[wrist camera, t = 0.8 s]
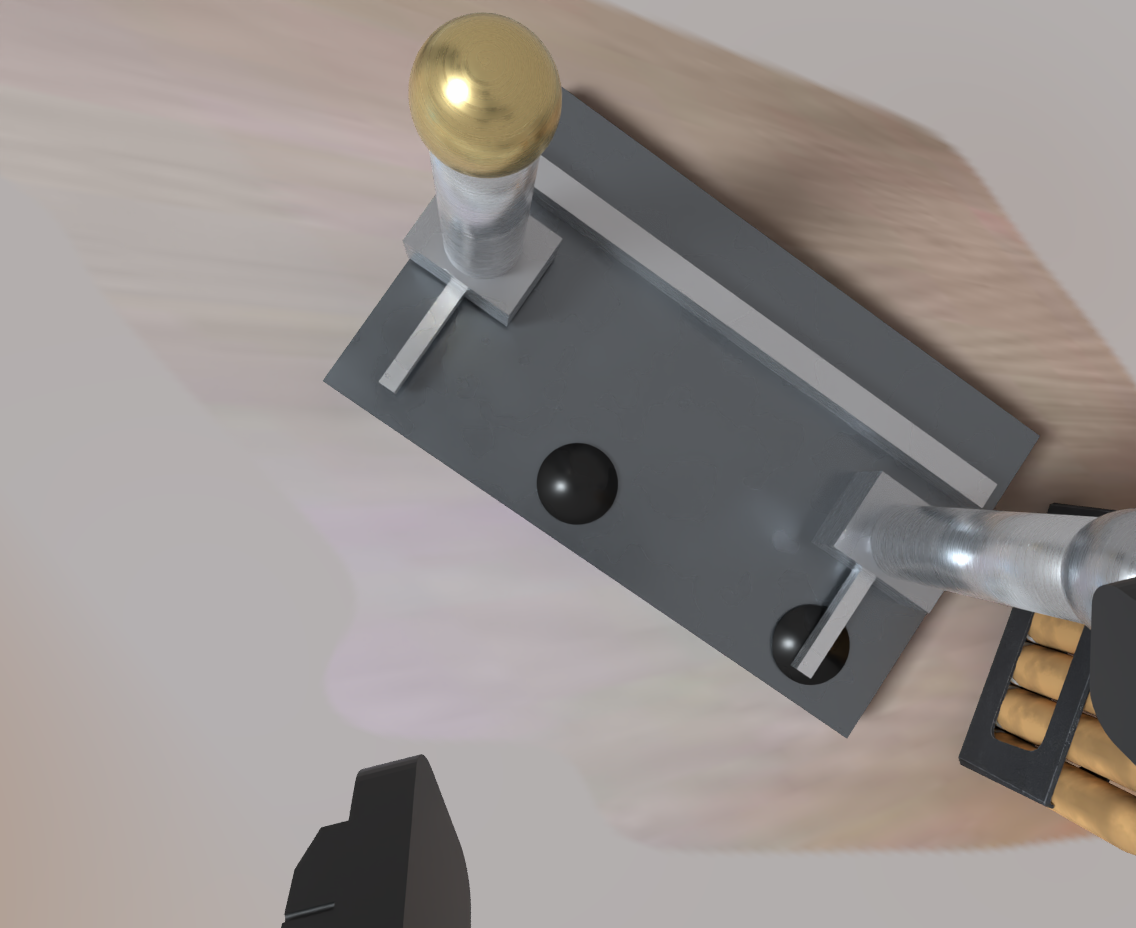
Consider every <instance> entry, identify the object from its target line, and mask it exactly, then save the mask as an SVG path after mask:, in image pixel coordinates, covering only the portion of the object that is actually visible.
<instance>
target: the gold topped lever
mask: <svg viewBox="0 0 1136 928" xmlns="http://www.w3.org/2000/svg"><path fill="white" fill-rule="evenodd" d="M409 106H410V111H411V115H412V119H413V122H414V125H415V127H416V130H417V132H418V134H419V136H420V137H421V139H422V141H423V142H424V144H425V145H426V146H427V148H428V149H429V152H430V159H431V165H432V172H433V178H434V185H435V191H436V195H435V196H434V198H433V199H432V201H431V202H430V203H429V205H428V206H427V208H426V209H425V210H424V212H423V213H422V215H421V216H420V217H419V219H418V220H417V222H416V223H415V224H414V226H413V227H412V229H411V230H410V231H409V233H408V234H407V236H406V237H405V238H404V240H403V244H404V247H405V250H406V253H407V256H408V258H410V259H411V260H413V261H414V262H415V263H417V264H418V265H420V266H421V267H423V268H424V269H425V270H427V271H428V272H430V273H431V274H433V275H434V276H435V277H437V278H438V279H440V280H441V281H443V282H444V283H445V284H447V286H446V287H445V288H444V290H443V291H442V293H441V294H440V295H439V297H438V298H437V300H436V301H435V303H434V304H433V305H432V307H431V308H430V310H429V311H428V312H427V314H426V315H425V317H424V318H423V320H422V321H421V322H420V324H419V325H418V327H417V328H416V329H415V331H414V332H413V334H412V335H411V336H410V338H409V339H408V341H407V342H406V344H405V345H404V346H403V348H402V349H401V351H400V352H399V353H398V355H397V356H396V358H395V359H394V360H393V362H392V363H391V365H390V366H389V368H388V369H387V370H386V372H385V373H384V375H383V376H382V377H381V379H380V380H379V383H380V384H382V385H383V386H385V387H386V388H387V389H389V390H390V391H392V392H393V393H395V394H396V393H397V392H398V390H399V389H400V387H401V386H402V385H403V383H404V382H405V380H406V379H407V378H408V376H409V375H410V373H411V372H412V370H413V369H414V368H415V366H416V365H417V363H418V362H419V361H420V359H421V358H422V356H423V355H424V353H425V352H426V351H427V349H428V348H429V346H430V345H431V343H432V342H433V341H434V339H435V338H436V336H437V335H438V334H439V332H440V331H441V329H442V328H443V326H444V325H445V324H446V322H447V321H448V319H449V318H450V317H451V315H452V314H453V312H454V311H455V309H456V308H457V307H458V305H459V304H460V302H461V301H462V300H463V298H464V297H465V298H467V299H468V300H470V301H471V302H473V303H474V304H475V305H477V306H478V307H480V308H481V309H483V310H484V311H485V312H487V313H488V314H490V315H491V316H493V317H494V318H495V319H497V320H498V321H500V322H501V323H503V324H504V325H505V326H508V324H509V323H510V321H511V320H512V319H513V317H514V316H515V314H516V313H517V311H518V310H519V309H520V307H521V306H522V304H523V303H524V301H525V300H526V299H527V297H528V296H529V294H530V293H531V291H532V290H533V288H534V287H535V286H536V284H537V283H538V281H539V280H540V278H541V277H542V276H543V274H544V273H545V271H546V270H547V268H548V267H549V266H550V264H551V263H552V261H553V260H554V258H555V257H556V256H557V253H558V251H559V248H560V245H561V242H562V238H561V237H560V236H558V235H557V234H555V233H554V232H553V231H551V230H550V229H548V228H547V227H546V226H544V225H543V224H541V223H540V222H539V221H537V220H536V219H534V218H533V217H532V216H530V215H529V212H530V206H531V201H532V196H533V190H534V185H535V180H536V175H537V169H538V164H539V159H540V155H541V154H542V153H543V152H544V151H545V149H546V148H547V147H548V145H549V144H550V142H551V140H552V139H553V136H554V134H555V132H556V129H557V127H558V123H559V120H560V115H561V108H562V89H561V82H560V78H559V74H558V70H557V68H556V65H555V62H554V60H553V58H552V56H551V55H550V53H549V51H548V50H547V48H546V47H545V45H544V44H543V43H542V41H541V40H540V39H539V38H538V37H537V36H536V35H535V34H534V33H533V32H532V31H531V30H529V29H528V28H527V27H525V26H524V25H522V24H521V23H519V22H517V21H515V20H513V19H511V18H508V17H505V16H502V15H499V14H493V13H472V14H467V15H463V16H460V17H457V18H454V19H452V20H450V21H448V22H446V23H445V24H443V25H442V26H441V27H439V28H438V29H437V30H436V31H434V32H433V33H432V34H431V35H430V37H429V38H428V39H427V40H426V41H425V43H424V44H423V46H422V47H421V49H420V50H419V52H418V54H417V56H416V58H415V61H414V64H413V67H412V70H411V74H410V80H409Z"/></svg>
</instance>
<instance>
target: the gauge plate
mask: <svg viewBox="0 0 1136 928" xmlns="http://www.w3.org/2000/svg"><path fill="white" fill-rule="evenodd" d="M561 89H562V108H561V115H560V120H559V123H558V127H557V129H556V132H555V134H554V136H553V139H552V140H551V142H550V144H549V145H548V147H547V148H546V149H545V151H544V152H543V153H542V154H541V155H540V159H539V164H538V169H537V175H536V180H535V185H534V190H533V196H532V201H531V206H530V212H529V215H530V216H532V217H533V218H534V219H536V220H537V221H539V222H540V223H541V224H543V225H544V226H546V227H547V228H548V229H550V230H551V231H553V232H554V233H555V234H557V235H558V236H560V237H561V238H562V242H561V245H560V248H559V251H558V253H557V256H556V257H555V258H554V260H553V261H552V263H551V264H550V266H549V267H548V268H547V270H546V271H545V273H544V274H543V276H542V277H541V278H540V280H539V281H538V283H537V284H536V286H535V287H534V288H533V290H532V291H531V293H530V294H529V296H528V297H527V299H526V300H525V301H524V303H523V304H522V306H521V307H520V309H519V310H518V311H517V313H516V314H515V316H514V317H513V319H512V320H511V321H510V323H509V324H508V326H505V325H504V324H503V323H501V322H500V321H498V320H497V319H495V318H494V317H493V316H491V315H490V314H488V313H487V312H485V311H484V310H483V309H481V308H480V307H478V306H477V305H475V304H474V303H473V302H471V301H470V300H468V299H467V298H465V297H464V298H463V300H462V301H461V302H460V304H459V305H458V307H457V308H456V309H455V311H454V312H453V314H452V315H451V317H450V318H449V319H448V321H447V322H446V324H445V325H444V326H443V328H442V329H441V331H440V332H439V334H438V335H437V336H436V338H435V339H434V341H433V342H432V343H431V345H430V346H429V348H428V349H427V351H426V352H425V353H424V355H423V356H422V358H421V359H420V361H419V362H418V363H417V365H416V366H415V368H414V369H413V370H412V372H411V373H410V375H409V376H408V378H407V379H406V380H405V382H404V383H403V385H402V386H401V387H400V389H399V390H398V392H397V393H396V394H395V393H393V392H392V391H390V390H389V389H387V388H386V387H385V386H383V385H382V384H380V383H379V380H380V379H381V377H382V376H383V375H384V373H385V372H386V370H387V369H388V368H389V366H390V365H391V363H392V362H393V360H394V359H395V358H396V356H397V355H398V353H399V352H400V351H401V349H402V348H403V346H404V345H405V344H406V342H407V341H408V339H409V338H410V336H411V335H412V334H413V332H414V331H415V329H416V328H417V327H418V325H419V324H420V322H421V321H422V320H423V318H424V317H425V315H426V314H427V312H428V311H429V310H430V308H431V307H432V305H433V304H434V303H435V301H436V300H437V298H438V297H439V295H440V294H441V293H442V291H443V290H444V288H445V287H446V286H447V284H445V283H444V282H443V281H441V280H440V279H438V278H437V277H435V276H434V275H433V274H431V273H430V272H428V271H427V270H425V269H424V268H423V267H421V266H420V265H418V264H417V263H415V262H414V261H413V260H411V259H409V261H408V262H407V263H406V265H405V266H404V268H403V269H402V270H401V272H400V273H399V275H398V276H397V278H396V279H395V280H394V282H393V283H392V285H391V286H390V287H389V289H388V290H387V292H386V293H385V294H384V296H383V297H382V299H381V300H380V301H379V303H378V304H377V306H376V307H375V308H374V310H373V311H372V313H371V314H370V315H369V317H368V318H367V320H366V321H365V322H364V324H363V325H362V327H361V328H360V329H359V331H358V332H357V334H356V335H355V336H354V338H353V339H352V341H351V342H350V343H349V345H348V346H347V348H346V349H345V350H344V352H343V353H342V355H341V356H340V357H339V359H338V360H337V362H336V363H335V364H334V366H333V367H332V369H331V370H330V371H329V373H328V374H327V376H326V377H325V378H324V380H323V381H324V382H325V383H326V384H328V385H329V386H331V387H332V388H334V389H335V390H337V391H338V392H340V393H341V394H343V395H344V396H346V397H347V398H348V399H350V400H351V401H353V402H354V403H356V404H357V405H359V406H360V407H362V408H363V409H365V410H366V411H368V412H369V413H370V414H372V415H373V416H375V417H376V418H378V419H379V420H381V421H382V422H384V423H385V424H387V425H388V426H390V427H391V428H392V429H394V430H395V431H397V432H398V433H400V434H401V435H403V436H404V437H406V438H407V439H409V440H410V441H412V442H413V443H414V444H416V445H417V446H419V447H420V448H422V449H423V450H425V451H426V452H428V453H429V454H431V455H432V456H434V457H435V458H436V459H438V460H439V461H441V462H442V463H444V464H445V465H447V466H448V467H450V468H451V469H453V470H454V471H456V472H457V473H458V474H460V475H461V476H463V477H464V478H466V479H467V480H469V481H470V482H472V483H473V484H475V485H476V486H477V487H479V488H480V489H482V490H483V491H485V492H486V493H488V494H489V495H491V496H492V497H494V498H495V499H497V500H498V501H499V502H501V503H502V504H504V505H505V506H507V507H508V508H510V509H511V510H513V511H514V512H516V513H517V514H519V515H520V516H521V517H523V518H524V519H526V520H527V521H529V522H530V523H532V524H533V525H535V526H536V527H538V528H539V529H541V530H542V531H543V532H545V533H546V534H548V535H549V536H551V537H552V538H554V539H555V540H557V541H558V542H560V543H561V544H563V545H564V546H565V547H567V548H568V549H570V550H571V551H573V552H574V553H576V554H577V555H579V556H580V557H582V558H583V559H585V560H586V561H587V562H589V563H590V564H592V565H593V566H595V567H596V568H598V569H599V570H601V571H602V572H604V573H605V574H607V575H608V576H609V577H611V578H612V579H614V580H615V581H617V582H618V583H620V584H621V585H623V586H624V587H626V588H627V589H629V590H630V591H631V592H633V593H634V594H636V595H637V596H639V597H640V598H642V599H643V600H645V601H646V602H648V603H649V604H650V605H652V606H653V607H655V608H656V609H658V610H659V611H661V612H662V613H664V614H665V615H667V616H668V617H670V618H671V619H672V620H674V621H675V622H677V623H678V624H680V625H681V626H683V627H684V628H686V629H687V630H689V631H690V632H692V633H693V634H694V635H696V636H697V637H699V638H700V639H702V640H703V641H705V642H706V643H708V644H709V645H711V646H712V647H714V648H715V649H716V650H718V651H719V652H721V653H722V654H724V655H725V656H727V657H728V658H730V659H731V660H733V661H734V662H736V663H737V664H738V665H740V666H741V667H743V668H744V669H746V670H747V671H749V672H750V673H752V674H753V675H755V676H756V677H758V678H759V679H760V680H762V681H763V682H765V683H766V684H768V685H769V686H771V687H772V688H774V689H775V690H777V691H778V692H780V693H781V694H782V695H784V696H785V697H787V698H788V699H790V700H791V701H793V702H794V703H796V704H797V705H799V706H800V707H802V708H803V709H804V710H806V711H807V712H809V713H810V714H812V715H813V716H815V717H816V718H818V719H819V720H821V721H822V722H824V723H825V724H826V725H828V726H829V727H831V728H832V729H834V730H835V731H837V732H838V733H840V734H841V735H843V736H844V737H845V738H848V736H849V735H850V733H851V731H852V730H853V728H854V727H855V725H856V724H857V722H858V720H859V719H860V717H861V716H862V714H863V713H864V711H865V709H866V708H867V706H868V705H869V703H870V702H871V700H872V699H873V697H874V695H875V694H876V692H877V691H878V689H879V688H880V686H881V684H882V683H883V681H884V680H885V678H886V677H887V675H888V673H889V672H890V670H891V669H892V667H893V666H894V664H895V662H896V661H897V659H898V658H899V656H900V655H901V653H902V652H903V650H904V648H905V647H906V645H907V644H908V642H909V641H910V639H911V637H912V636H913V634H914V633H915V631H916V630H917V628H918V626H919V625H920V623H921V622H922V620H923V619H924V617H925V615H926V614H927V612H923V611H920V610H917V609H913V608H910V607H907V606H903V605H900V604H899V603H897V602H896V601H895V600H893V599H892V598H890V597H889V596H887V595H886V594H885V593H883V592H882V591H880V590H879V589H877V588H876V587H875V586H873V585H871V586H870V588H869V589H868V591H867V593H866V594H865V596H864V597H863V599H862V600H861V602H860V603H859V605H858V607H857V608H856V610H855V611H854V613H853V614H852V616H851V617H850V619H849V620H848V622H847V624H846V625H845V627H844V628H843V630H842V631H841V633H840V634H839V636H838V637H837V639H836V641H835V642H834V644H833V645H832V647H831V648H830V650H829V651H828V653H827V655H826V656H825V658H824V659H823V661H822V662H821V664H820V665H819V667H818V668H817V670H816V672H815V673H814V675H813V676H812V678H809V677H807V676H806V675H804V674H803V673H801V672H800V671H798V670H797V669H795V668H794V667H792V666H791V664H792V662H793V661H794V659H795V658H796V656H797V655H798V653H799V651H800V650H801V648H802V647H803V645H804V644H805V642H806V641H807V639H808V638H809V636H810V634H811V633H812V631H813V630H814V628H815V627H816V625H817V624H818V622H819V621H820V619H821V618H822V616H823V614H824V613H825V611H826V610H827V608H828V607H829V605H830V604H831V602H832V601H833V599H834V597H835V596H836V594H837V593H838V591H839V590H840V588H841V587H842V585H843V584H844V582H845V580H846V579H847V577H848V576H849V574H850V573H851V571H852V570H850V569H849V568H847V567H846V566H845V565H843V564H842V563H840V562H839V561H837V560H836V559H835V558H833V557H832V556H830V555H829V554H827V553H826V552H825V551H823V550H822V549H820V548H819V547H818V546H816V545H815V544H813V543H812V542H811V540H812V539H813V537H814V536H815V534H816V533H817V531H818V530H819V528H820V527H821V525H822V524H823V522H824V521H825V519H826V518H827V516H828V514H829V513H830V511H831V510H832V508H833V507H834V505H835V504H836V502H837V501H838V499H839V498H840V496H841V495H842V493H843V492H844V490H845V488H846V487H847V485H848V484H849V482H850V481H851V479H852V478H853V476H854V475H855V473H856V472H866V471H883V472H884V473H886V474H887V475H888V476H890V477H891V478H893V479H894V480H896V481H897V482H898V483H900V484H901V485H903V486H904V487H905V488H907V489H908V490H910V491H911V492H912V493H914V494H915V495H917V496H918V497H919V498H921V499H922V500H924V501H925V502H926V503H928V504H929V505H931V506H933V507H949V508H964V509H980V510H993V509H994V507H995V506H996V504H997V503H998V501H999V500H1000V498H1001V496H1002V495H1003V493H1004V492H1005V490H1006V489H1007V487H1008V485H1009V484H1010V482H1011V481H1012V479H1013V478H1014V476H1015V475H1016V473H1017V471H1018V470H1019V468H1020V467H1021V465H1022V464H1023V462H1024V460H1025V459H1026V457H1027V456H1028V454H1029V453H1030V451H1031V449H1032V448H1033V446H1034V445H1035V443H1036V442H1037V440H1038V438H1039V437H1040V436H1039V435H1038V434H1036V433H1035V432H1034V431H1032V430H1031V429H1029V428H1028V427H1027V426H1025V425H1024V424H1023V423H1021V422H1020V421H1019V420H1017V419H1016V418H1014V417H1013V416H1012V415H1010V414H1009V413H1008V412H1006V411H1005V410H1003V409H1002V408H1001V407H999V406H998V405H997V404H995V403H994V402H993V401H991V400H990V399H988V398H987V397H986V396H984V395H983V394H982V393H980V392H979V391H977V390H976V389H975V388H973V387H972V386H971V385H969V384H968V383H966V382H965V381H964V380H962V379H961V378H960V377H958V376H957V375H956V374H954V373H953V372H951V371H950V370H949V369H947V368H946V367H945V366H943V365H942V364H940V363H939V362H938V361H936V360H935V359H934V358H932V357H931V356H930V355H928V354H927V353H925V352H924V351H923V350H921V349H920V348H919V347H917V346H916V345H914V344H913V343H912V342H910V341H909V340H908V339H906V338H905V337H904V336H902V335H901V334H899V333H898V332H897V331H895V330H894V329H893V328H891V327H890V326H888V325H887V324H886V323H884V322H883V321H882V320H880V319H879V318H877V317H876V316H875V315H873V314H872V313H871V312H869V311H868V310H867V309H865V308H864V307H862V306H861V305H860V304H858V303H857V302H856V301H854V300H853V299H851V298H850V297H849V296H847V295H846V294H845V293H843V292H842V291H841V290H839V289H838V288H836V287H835V286H834V285H832V284H831V283H830V282H828V281H827V280H825V279H824V278H823V277H821V276H820V275H819V274H817V273H816V272H815V271H813V270H812V269H810V268H809V267H808V266H806V265H805V264H804V263H802V262H801V261H799V260H798V259H797V258H795V257H794V256H793V255H791V254H790V253H788V252H787V251H786V250H784V249H783V248H782V247H780V246H779V245H778V244H776V243H775V242H773V241H772V240H771V239H769V238H768V237H767V236H765V235H764V234H762V233H761V232H760V231H758V230H757V229H756V228H754V227H753V226H752V225H750V224H749V223H747V222H746V221H745V220H743V219H742V218H741V217H739V216H738V215H736V214H735V213H734V212H732V211H731V210H730V209H728V208H727V207H725V206H724V205H723V204H721V203H720V202H719V201H717V200H716V199H715V198H713V197H712V196H710V195H709V194H708V193H706V192H705V191H704V190H702V189H701V188H699V187H698V186H697V185H695V184H694V183H693V182H691V181H690V180H689V179H687V178H686V177H684V176H683V175H682V174H680V173H679V172H678V171H676V170H675V169H673V168H672V167H671V166H669V165H668V164H667V163H665V162H664V161H663V160H661V159H660V158H658V157H657V156H656V155H654V154H653V153H652V152H650V151H649V150H647V149H646V148H645V147H643V146H642V145H641V144H639V143H638V142H636V141H635V140H634V139H632V138H631V137H630V136H628V135H627V134H626V133H624V132H623V131H621V130H620V129H619V128H617V127H616V126H615V125H613V124H612V123H610V122H609V121H608V120H606V119H605V118H604V117H602V116H601V115H600V114H598V113H597V112H595V111H594V110H593V109H591V108H590V107H589V106H587V105H586V104H584V103H583V102H582V101H580V100H579V99H578V98H576V97H575V96H574V95H572V94H571V93H569V92H568V91H567V90H565V89H564V88H563V87H561Z"/></svg>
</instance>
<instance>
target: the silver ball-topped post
mask: <svg viewBox="0 0 1136 928" xmlns="http://www.w3.org/2000/svg"><path fill="white" fill-rule="evenodd" d="M811 542H812V543H813V544H815V545H816V546H818V547H819V548H820V549H822V550H823V551H825V552H826V553H827V554H829V555H830V556H832V557H833V558H835V559H836V560H837V561H839V562H840V563H842V564H843V565H845V566H846V567H847V568H849V569H850V570H852V571H851V573H850V574H849V576H848V577H847V579H846V580H845V582H844V584H843V585H842V587H841V588H840V590H839V591H838V593H837V594H836V596H835V597H834V599H833V601H832V602H831V604H830V605H829V607H828V608H827V610H826V611H825V613H824V614H823V616H822V618H821V619H820V621H819V622H818V624H817V625H816V627H815V628H814V630H813V631H812V633H811V634H810V636H809V638H808V639H807V641H806V642H805V644H804V645H803V647H802V648H801V650H800V651H799V653H798V655H797V656H796V658H795V659H794V661H793V662H792V664H791V666H792V667H794V668H795V669H797V670H798V671H800V672H801V673H803V674H804V675H806V676H807V677H809V678H812V676H813V675H814V673H815V672H816V670H817V668H818V667H819V665H820V664H821V662H822V661H823V659H824V658H825V656H826V655H827V653H828V651H829V650H830V648H831V647H832V645H833V644H834V642H835V641H836V639H837V637H838V636H839V634H840V633H841V631H842V630H843V628H844V627H845V625H846V624H847V622H848V620H849V619H850V617H851V616H852V614H853V613H854V611H855V610H856V608H857V607H858V605H859V603H860V602H861V600H862V599H863V597H864V596H865V594H866V593H867V591H868V589H869V588H870V586H871V585H873V586H875V587H876V588H877V589H879V590H880V591H882V592H883V593H885V594H886V595H887V596H889V597H890V598H892V599H893V600H895V601H896V602H897V603H899V604H900V605H903V606H907V607H910V608H913V609H917V610H920V611H923V612H927V613H930V612H931V610H932V608H933V607H934V605H935V604H936V602H937V601H938V599H939V597H940V596H941V594H942V593H943V591H944V590H945V591H949V592H953V593H957V594H961V595H966V596H970V597H974V598H978V599H982V600H986V601H990V602H994V603H999V604H1003V605H1007V606H1011V607H1015V608H1019V609H1023V610H1027V611H1031V612H1036V613H1040V614H1044V615H1048V616H1052V617H1056V618H1060V619H1064V620H1069V621H1073V622H1077V623H1081V624H1085V625H1086V626H1087V627H1088V628H1089V629H1090V630H1091V610H1092V598H1093V594H1094V592H1095V591H1096V589H1097V588H1098V587H1100V586H1102V585H1105V584H1109V583H1113V582H1117V581H1121V580H1125V579H1129V578H1133V577H1136V508H1133V509H1123V510H1118V511H1114V512H1110V513H1107V514H1105V515H1102V516H1100V517H1089V516H1074V515H1058V514H1042V513H1027V512H1011V511H995V510H980V509H964V508H949V507H933V506H931V505H929V504H928V503H926V502H925V501H924V500H922V499H921V498H919V497H918V496H917V495H915V494H914V493H912V492H911V491H910V490H908V489H907V488H905V487H904V486H903V485H901V484H900V483H898V482H897V481H896V480H894V479H893V478H891V477H890V476H888V475H887V474H886V473H884V472H883V471H866V472H856V473H855V475H854V476H853V478H852V479H851V481H850V482H849V484H848V485H847V487H846V488H845V490H844V492H843V493H842V495H841V496H840V498H839V499H838V501H837V502H836V504H835V505H834V507H833V508H832V510H831V511H830V513H829V514H828V516H827V518H826V519H825V521H824V522H823V524H822V525H821V527H820V528H819V530H818V531H817V533H816V534H815V536H814V537H813V539H812V540H811Z"/></svg>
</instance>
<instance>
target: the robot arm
mask: <svg viewBox="0 0 1136 928" xmlns="http://www.w3.org/2000/svg"><path fill="white" fill-rule="evenodd" d="M1090 697H1091V701H1092V705H1093V708H1094V711H1095V714H1096V716H1097V718H1098V720H1099V722H1100V724H1101V726H1102V728H1103V729H1104V731H1105V733H1106V734H1107V736H1108V737H1109V738H1110V739H1111V741H1112V742H1113V743H1114V744H1115V745H1116V746H1117V747H1118V748H1119V749H1120V750H1121V751H1122V752H1123V753H1124V754H1125V755H1126V756H1127V757H1128V758H1129V759H1130V760H1131V762H1132V763H1133V764H1134V765H1135V766H1136V577H1133V578H1129V579H1125V580H1121V581H1117V582H1113V583H1109V584H1105V585H1102V586H1100V587H1098V588H1097V589H1096V591H1095V592H1094V594H1093V598H1092V610H1091V650H1090ZM470 901H471V899H470V887H469V880H468V873H467V868H466V863H465V859H464V855H463V851H462V848H461V845H460V842H459V840H458V837H457V834H456V831H455V829H454V826H453V824H452V821H451V818H450V816H449V813H448V811H447V808H446V805H445V803H444V800H443V797H442V795H441V792H440V790H439V787H438V784H437V782H436V779H435V776H434V774H433V771H432V768H431V766H430V764H429V762H428V760H427V758H426V757H425V756H424V755H422V754H421V755H417V756H413V757H409V758H405V759H401V760H398V761H393V762H389V763H385V764H381V765H377V766H373V767H370V768H365V769H362V770H360V771H359V773H358V774H357V777H356V781H355V787H354V792H353V798H352V804H351V810H350V816H349V821H346V822H341V823H337V824H333V825H329V826H325V827H322V828H321V829H320V830H319V832H318V833H317V835H316V837H315V838H314V840H313V841H312V843H311V845H310V846H309V848H308V849H307V851H306V852H305V854H304V856H303V857H302V859H301V860H300V862H299V863H298V865H297V867H296V868H295V870H294V875H293V879H292V883H291V888H290V892H289V896H288V901H287V905H286V909H285V923H282V927H281V928H471V902H470Z"/></svg>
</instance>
